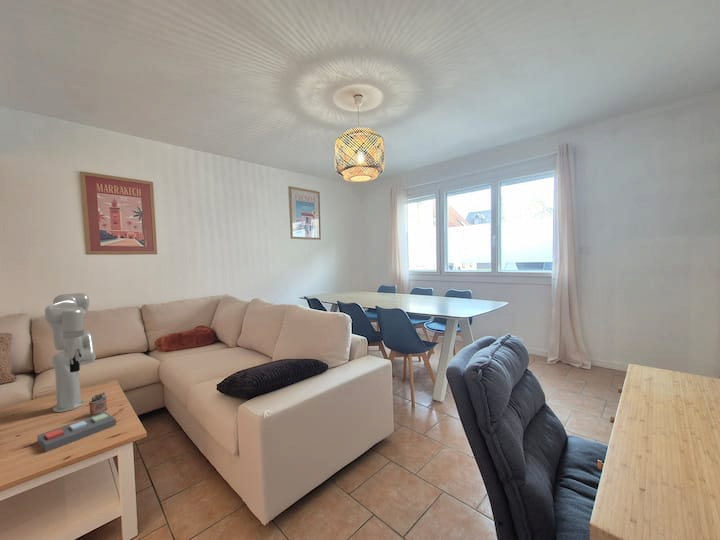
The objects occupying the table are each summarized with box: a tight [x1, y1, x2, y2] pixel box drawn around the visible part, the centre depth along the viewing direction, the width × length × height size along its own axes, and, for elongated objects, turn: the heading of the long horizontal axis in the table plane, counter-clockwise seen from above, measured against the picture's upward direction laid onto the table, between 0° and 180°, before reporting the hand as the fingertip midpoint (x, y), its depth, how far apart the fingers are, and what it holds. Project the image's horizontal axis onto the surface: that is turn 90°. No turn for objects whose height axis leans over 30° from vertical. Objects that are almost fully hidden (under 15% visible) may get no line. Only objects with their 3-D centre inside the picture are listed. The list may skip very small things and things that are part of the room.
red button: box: [45, 429, 64, 440], centre depth 131 cm, size 5×5×3 cm
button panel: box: [36, 411, 117, 453], centre depth 138 cm, size 14×24×3 cm, turn 148°
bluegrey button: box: [69, 421, 87, 431], centre depth 138 cm, size 5×5×3 cm
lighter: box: [88, 392, 108, 417], centre depth 157 cm, size 8×3×10 cm, turn 168°
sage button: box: [92, 413, 108, 423], centre depth 145 cm, size 5×5×3 cm
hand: (74, 371), depth 145 cm, fingers closed
